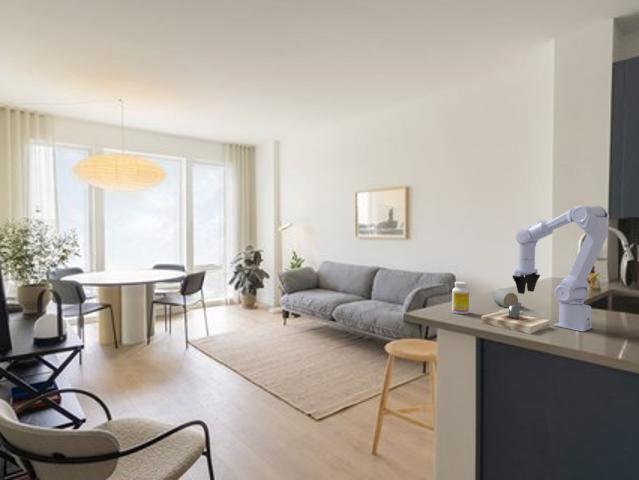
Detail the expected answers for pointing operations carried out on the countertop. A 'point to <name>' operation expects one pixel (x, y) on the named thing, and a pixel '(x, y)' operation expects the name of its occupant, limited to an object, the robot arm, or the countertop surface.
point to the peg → (514, 312)
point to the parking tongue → (508, 311)
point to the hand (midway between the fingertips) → (526, 292)
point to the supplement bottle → (460, 298)
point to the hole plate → (515, 322)
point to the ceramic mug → (506, 298)
